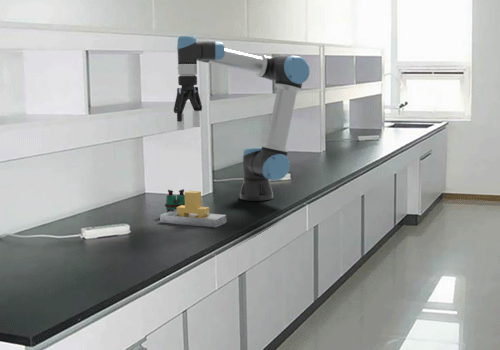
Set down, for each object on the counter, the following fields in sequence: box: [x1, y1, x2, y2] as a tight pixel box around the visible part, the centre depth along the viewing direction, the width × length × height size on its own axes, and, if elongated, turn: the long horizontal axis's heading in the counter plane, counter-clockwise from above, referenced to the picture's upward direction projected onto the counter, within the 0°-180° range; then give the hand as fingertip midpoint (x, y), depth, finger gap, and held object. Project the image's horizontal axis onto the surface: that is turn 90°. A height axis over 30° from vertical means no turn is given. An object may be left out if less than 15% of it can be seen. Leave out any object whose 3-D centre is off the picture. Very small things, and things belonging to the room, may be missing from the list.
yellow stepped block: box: [176, 190, 210, 218], centre depth 276 cm, size 12×4×12 cm, turn 67°
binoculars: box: [164, 188, 185, 212], centre depth 292 cm, size 9×11×10 cm
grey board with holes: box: [159, 210, 227, 228], centre depth 276 cm, size 9×24×3 cm, turn 67°
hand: (188, 128), depth 290 cm, fingers open, 13 cm apart
